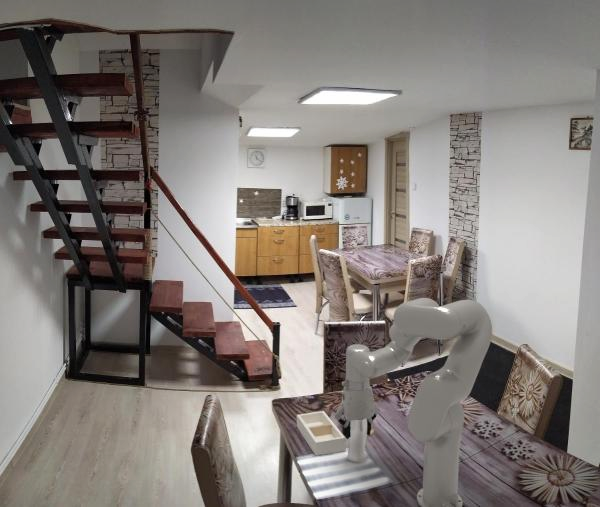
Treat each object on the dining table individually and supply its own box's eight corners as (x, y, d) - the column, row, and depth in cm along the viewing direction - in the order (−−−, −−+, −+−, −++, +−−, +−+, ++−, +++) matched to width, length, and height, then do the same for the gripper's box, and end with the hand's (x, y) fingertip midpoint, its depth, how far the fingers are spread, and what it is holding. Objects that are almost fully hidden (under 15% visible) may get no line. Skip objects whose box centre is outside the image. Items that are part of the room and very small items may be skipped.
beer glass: (366, 464, 173) (367, 421, 171) (344, 462, 175) (345, 419, 172) (367, 453, 180) (368, 411, 178) (347, 451, 182) (347, 409, 179)
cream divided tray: (345, 450, 182) (345, 437, 181) (315, 455, 179) (315, 442, 178) (323, 422, 202) (323, 410, 201) (296, 426, 199) (296, 414, 198)
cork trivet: (379, 434, 193) (379, 432, 193) (353, 438, 190) (353, 436, 190) (367, 421, 202) (367, 419, 202) (342, 425, 199) (342, 423, 199)
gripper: (336, 391, 167) (336, 444, 170) (387, 384, 172) (386, 436, 175) (328, 382, 174) (327, 433, 177) (377, 375, 179) (375, 425, 182)
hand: (356, 434), depth 176 cm, fingers closed on beer glass, 6 cm apart
